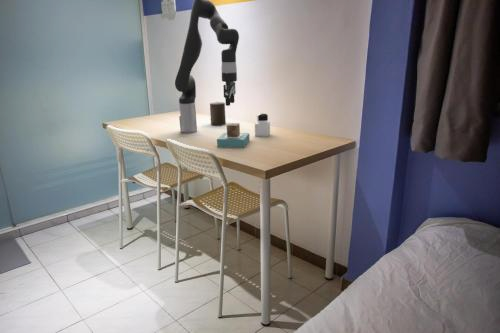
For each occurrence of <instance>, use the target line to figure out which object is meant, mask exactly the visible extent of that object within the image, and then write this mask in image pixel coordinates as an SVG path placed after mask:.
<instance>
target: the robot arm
mask: <svg viewBox="0 0 500 333" xmlns="http://www.w3.org/2000/svg"><path fill="white" fill-rule="evenodd" d="M200 18H202V19H205V20H209V26H210V28H211V29H212V31H213V32H214V33H215V35H216V41H217V42H218V43H219V44H220V45H228V48H226V49H222V51H221V69H220V70H221V82H225V84H223V86H222V87H223V98H224V99H225V107H226V106H227V107H229V106H231V104H234V103H235V95H236V82H237V81H238V74H237V68H238V66H237V57H236V54H237V48H238V45H239V39H240V35H239V34H240V33H239V32H238V30H237V29H235V28H229V26H228V24H227V23H226V21H225V20H224V19H223V18H222V17H221V16H220V14H219V12H218V9H217V8H216V6H215V4H214V3H213V2H212V1H211V0H193V2H192V6H191V10H190V18H189V25H188V28H187V34H186V39H185V42H184V46H183V52H182V56H181V58H180V59H181V60H180V65H179V68H178V72H177V73H176V77H175V81H174V86H175V89H176V90H177V91H178V92H179V93H181V95H180V97H179V99H178V103H179V129H180V133H185V134H187V133H191V134H192V133H195V132H197V131H198V126H197V125H198V124H197V111H196V110H197V109H196V97H197V88H196V87H197V86H196V81H195V78H194V76H193V75H192V74H191V72H192V69H193V67H194V66H195V64H196V63H197V61H198V60H199V57H200V55H201V51H202V48H203V40H202V37H201V34H200V29H199V19H200Z"/></svg>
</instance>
